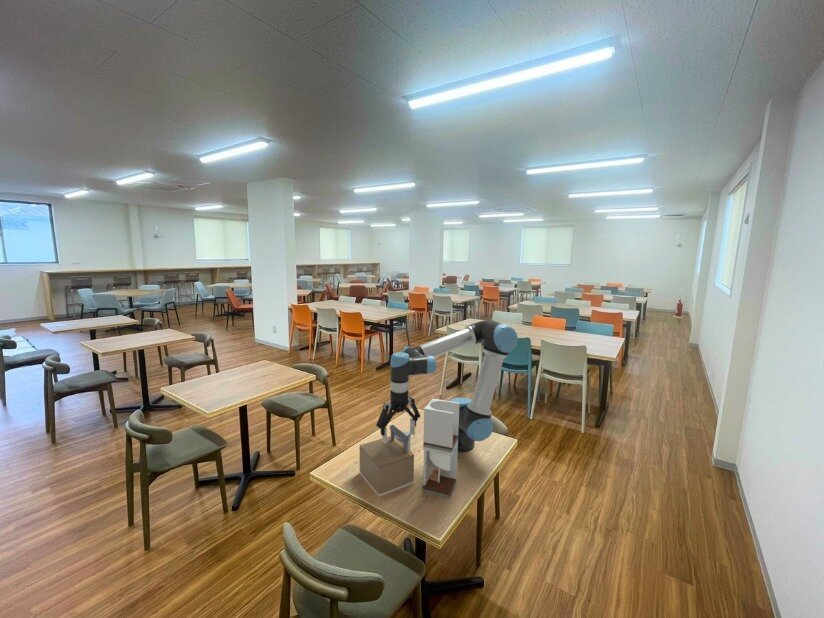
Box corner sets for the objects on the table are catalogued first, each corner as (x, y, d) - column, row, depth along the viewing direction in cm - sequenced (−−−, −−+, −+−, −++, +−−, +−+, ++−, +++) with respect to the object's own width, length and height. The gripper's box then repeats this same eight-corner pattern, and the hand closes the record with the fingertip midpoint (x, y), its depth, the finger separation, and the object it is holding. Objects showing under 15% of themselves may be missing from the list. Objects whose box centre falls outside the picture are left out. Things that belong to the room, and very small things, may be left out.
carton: (392, 462, 164) (392, 437, 162) (413, 483, 149) (414, 456, 147) (359, 473, 155) (359, 447, 153) (378, 496, 140) (379, 468, 138)
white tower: (422, 491, 144) (424, 408, 138) (430, 476, 154) (432, 398, 148) (450, 498, 140) (453, 413, 135) (456, 482, 150) (459, 402, 144)
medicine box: (391, 449, 174) (391, 432, 173) (396, 445, 178) (396, 429, 177) (406, 454, 170) (406, 436, 169) (410, 449, 174) (410, 432, 173)
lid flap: (379, 468, 138) (379, 449, 137) (359, 446, 153) (359, 429, 152) (414, 456, 147) (414, 438, 146) (392, 437, 162) (392, 420, 160)
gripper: (419, 382, 159) (418, 427, 162) (368, 392, 146) (368, 441, 149) (429, 387, 153) (427, 434, 156) (376, 399, 139) (376, 450, 143)
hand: (398, 437), depth 152 cm, fingers open, 13 cm apart
